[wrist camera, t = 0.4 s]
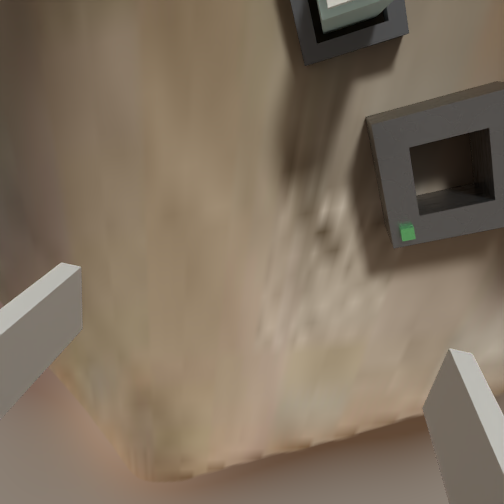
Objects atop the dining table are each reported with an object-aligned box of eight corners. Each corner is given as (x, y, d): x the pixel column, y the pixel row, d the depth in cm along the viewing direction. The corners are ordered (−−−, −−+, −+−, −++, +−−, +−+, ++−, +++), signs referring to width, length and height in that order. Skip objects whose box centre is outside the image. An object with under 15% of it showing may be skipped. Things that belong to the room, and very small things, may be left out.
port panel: (365, 117, 35) (372, 125, 30) (496, 81, 33) (527, 84, 28) (385, 226, 39) (394, 251, 34) (505, 202, 36) (534, 224, 31)
